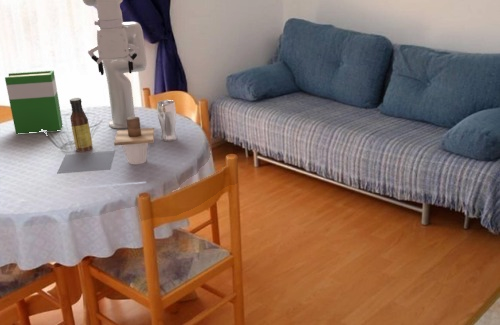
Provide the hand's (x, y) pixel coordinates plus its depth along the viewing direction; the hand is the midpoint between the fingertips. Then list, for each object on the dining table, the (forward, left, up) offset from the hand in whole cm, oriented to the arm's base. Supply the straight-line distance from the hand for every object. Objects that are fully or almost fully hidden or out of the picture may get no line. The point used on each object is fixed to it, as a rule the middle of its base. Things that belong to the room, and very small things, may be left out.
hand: (116, 73), depth 202 cm
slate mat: (+6, -13, -30) cm, 34 cm away
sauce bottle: (-8, -16, -31) cm, 36 cm away
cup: (+9, +4, -31) cm, 32 cm away
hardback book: (-36, -38, -31) cm, 61 cm away
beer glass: (-13, +16, -31) cm, 37 cm away
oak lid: (+9, +5, -21) cm, 23 cm away
